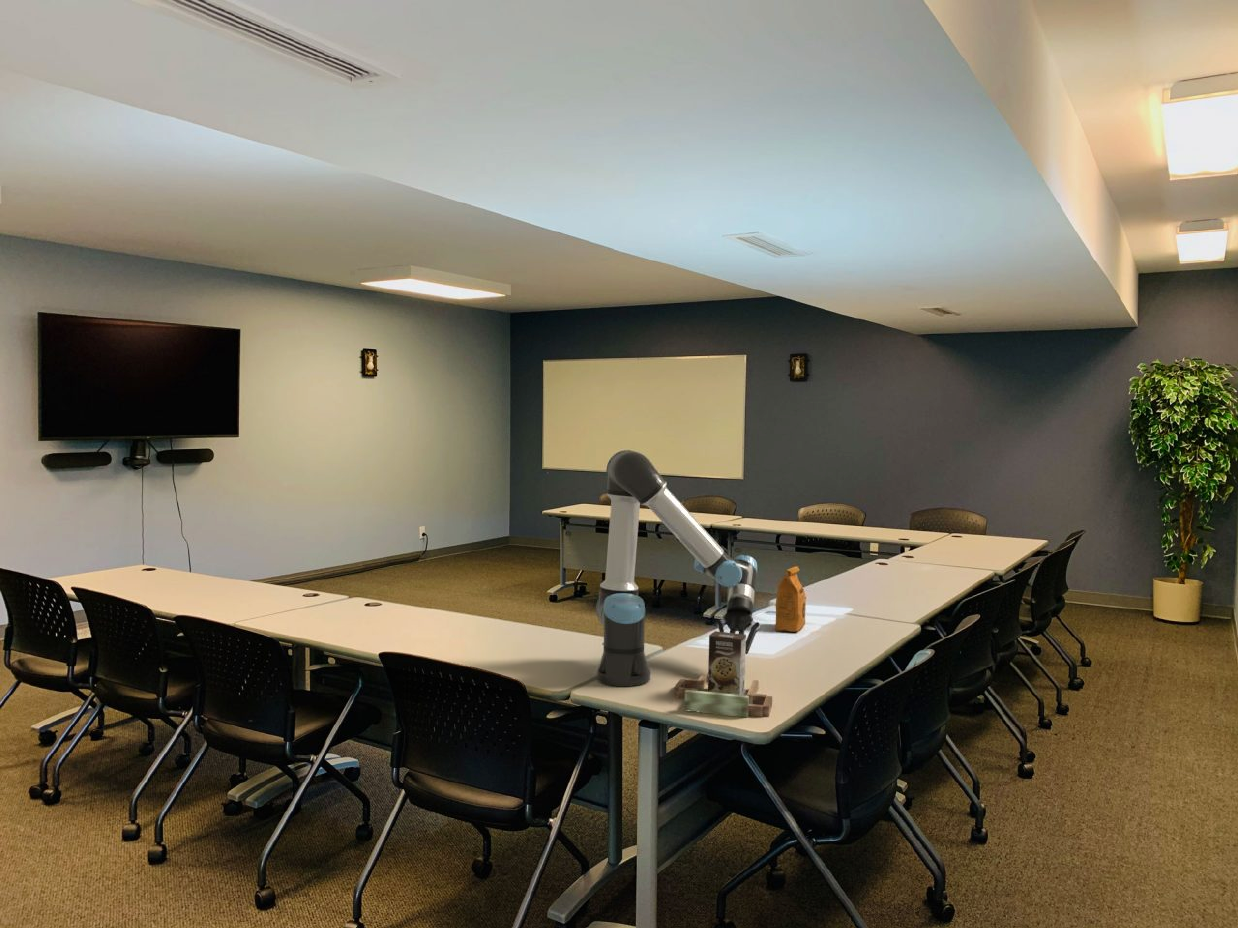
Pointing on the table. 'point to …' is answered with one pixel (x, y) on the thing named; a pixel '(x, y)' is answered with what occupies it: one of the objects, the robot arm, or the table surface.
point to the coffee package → (790, 603)
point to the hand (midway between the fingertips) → (731, 673)
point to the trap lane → (722, 699)
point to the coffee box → (726, 663)
